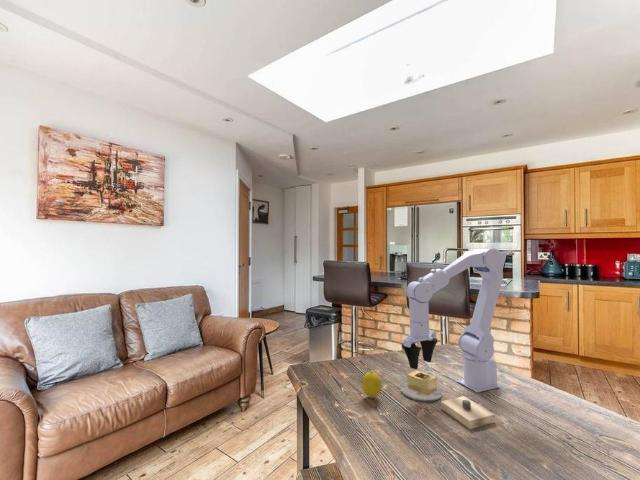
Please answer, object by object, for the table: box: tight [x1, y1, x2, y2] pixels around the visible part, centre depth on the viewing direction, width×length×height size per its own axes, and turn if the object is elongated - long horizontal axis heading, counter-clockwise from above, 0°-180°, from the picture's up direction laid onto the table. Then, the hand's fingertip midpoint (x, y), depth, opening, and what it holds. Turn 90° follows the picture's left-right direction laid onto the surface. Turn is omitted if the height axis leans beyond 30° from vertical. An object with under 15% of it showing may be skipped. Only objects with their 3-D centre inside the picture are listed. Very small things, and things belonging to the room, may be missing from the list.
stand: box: [440, 395, 495, 430], centre depth 80 cm, size 8×10×4 cm
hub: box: [400, 377, 443, 403], centre depth 94 cm, size 12×12×4 cm
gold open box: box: [406, 369, 438, 396], centre depth 93 cm, size 5×7×4 cm
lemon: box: [362, 370, 382, 399], centre depth 90 cm, size 6×6×8 cm
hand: (420, 364), depth 94 cm, fingers open, 7 cm apart
